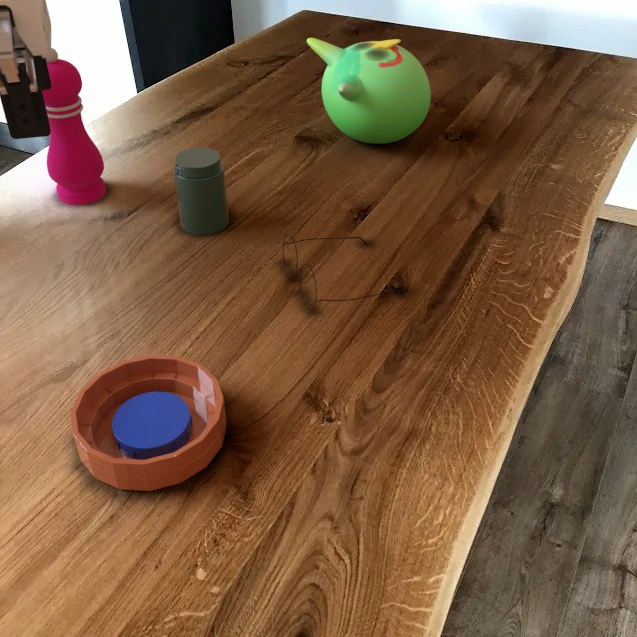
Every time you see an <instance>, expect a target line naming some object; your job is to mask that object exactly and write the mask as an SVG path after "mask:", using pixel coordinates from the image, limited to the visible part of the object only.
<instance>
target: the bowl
mask: <svg viewBox="0 0 637 637" xmlns="http://www.w3.org/2000/svg"><path fill="white" fill-rule="evenodd" d="M148 392H167V393H171V394H174V395H176V396H178V397H180V398H181V399H182V400H184V402H185V403H186V404H187V406H188V408H189V411H190V417H192V423H193V426H192V431H191V435H190V437H189V441H187V442H186V444H185V445H184V446H183V447H182V448H180V449H179V450H177V451H175V452H174V453H170V454H166V455H162V456H158V457H154V458H150V459H146V460H137V459H133V458H130V457H128V456H127V455H125V454H124V453H123V452H122V451H121V450H120V451H119V448H118V446H117V444H116V440H115V437H114V434H113V430H112V421H113V417H114V415H115V413H116V412H117V410H118V409H119V408H120V406H122V405H123V404H124V403H125V402H126V401H128V400H129V399H131V398H133V397H135V396H137V395H140V394H143V393H148ZM225 406H226V405H225V398H224V395H223V392H222V389H221V386H220V383H219V380H218V378H217V377H216V376H215V375H214V374H213V373H212V372H210V371H209V370H208V369H207V368H206V367H205V366H204V365H202V364H201V363H199V362H196V361H193V360H190V359H187V358H185V357H182V356H178V355H163V354H162V355H161V354H148V355H144V356H139V357H135V358H129V359H126V360H122V361H120V362H119V363H116V364H114V365H112V366H110V367H107V368H106V369H104V370H102V371H100V372H98V373H97V374H96V375H95V376H94V377H93V378H92V379H91V380H90V381H89V382H88V383H86V384H85V386H83V387H82V388H81V389H80V390H79V392H78V394H77V397H76V399H75V401H74V403H73V406H72V408H71V409H70V413H69V416H70V423H71V433H72V434H71V435H72V437H73V440H74V444H75V447H76V449H77V453H78V455H79V459H80V462H82V464H83V465H84V466H85V468H86V469H87V471H89V473H90V474H91V475H92V476H93V477H94V479H95V480H98V481H100V482H102V483H104V484H107V485H109V486H111V487H114V488H116V489H118V490H121V491H122V490H123V491H140V492H153V491H156V490H160V489H164V488H168V487H171V486H175V485H178V484H181V483H183V482H185V481H187V480H188V479H190V478H191V477H193V476H194V475H196V474H198V473H199V472H201V471H203V470H204V469H205V468H207V467H208V465H209V464H210V463H211V462H212V460H214V458H215V456H216V455H217V453H218V452H219V451H220V450H221V448H222V447H223V444H224V440H225V434H226V431H227V425H228V424H227V414H226V407H225Z"/></svg>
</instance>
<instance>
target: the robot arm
mask: <svg viewBox="0 0 637 637" xmlns="http://www.w3.org/2000/svg"><path fill="white" fill-rule="evenodd" d="M49 12H50V11H49V8H48V4H47V0H0V102H1V106H2V109H3V113H4V117H5V121H6V125H7V128H8V132H9V136H10V137H11V139H14V140H21V139H22V140H23V139H33V138H44V137H50V134H51V128H50V123H49V119H48V114H47V110H46V105H45V101H44V97H43V92H42V90H49V89H50V88H51V80H50V75H49V70H48V66H47V61H46V58H47V57H48V56H49V54H50V52H51V48H52V21H51V17H50V13H49Z"/></svg>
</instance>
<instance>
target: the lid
mask: <svg viewBox="0 0 637 637" xmlns="http://www.w3.org/2000/svg"><path fill="white" fill-rule="evenodd" d="M192 426H193V423H192V417H190V411H189V408H188V406H187V404H186V403H185V402H184V400H182V399H181V398H180V397H178V396H176V395H174V394H171V393H167V392H148V393H143V394H140V395H137V396H135V397H133V398H131V399H129V400H128V401H126V402H125V403H124V404H123V405H122V406H120V408H119V409H118V410H117V412H116V413H115V415H114V417H113V421H112V430H113V434H114V437H115V440H116V444H117V446H118V448H119V451H120V450H121V451H122V452H123V453H124V454H125V455H127V456H128V457H130V458H133V459H137V460H146V459H150V458H154V457H158V456H162V455H166V454H170V453H174V452H175V451H177V450H179V449H180V448H182V447H183V446H184V445H185V444H186V442H187V441H189V437H190V435H191V431H192Z"/></svg>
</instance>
